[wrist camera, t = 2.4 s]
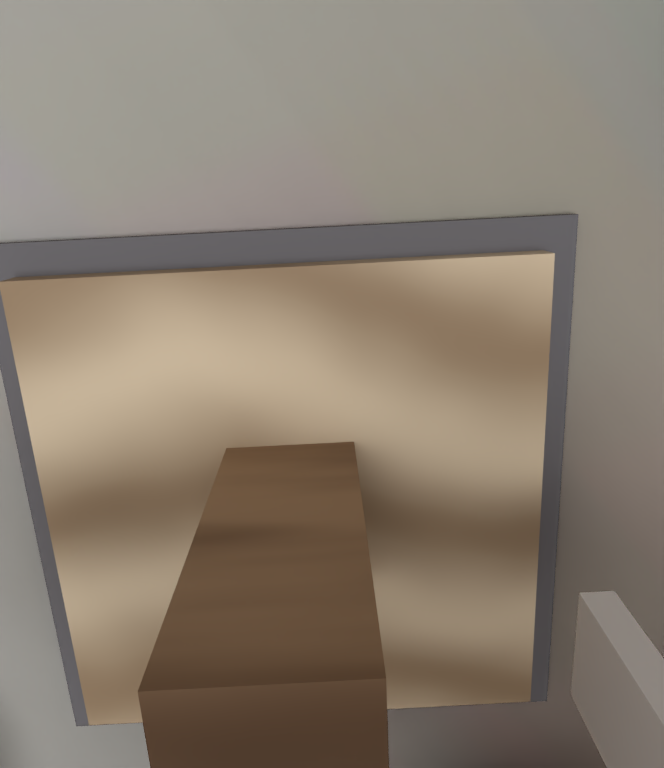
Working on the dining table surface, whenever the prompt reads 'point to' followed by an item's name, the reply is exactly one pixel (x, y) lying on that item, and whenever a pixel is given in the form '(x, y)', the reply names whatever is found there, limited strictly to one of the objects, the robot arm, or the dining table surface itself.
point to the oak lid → (291, 493)
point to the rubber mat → (301, 248)
